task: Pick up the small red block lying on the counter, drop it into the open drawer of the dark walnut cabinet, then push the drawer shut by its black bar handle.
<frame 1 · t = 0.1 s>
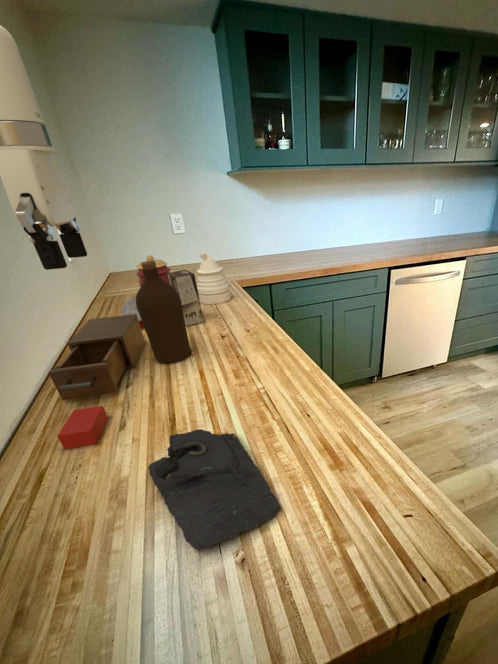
hand: (68, 262, 57), 30 cm above the table, tool pointing down, fingers open, 9 cm apart
coffee box: (191, 320, 116), on the table
cabinet: (116, 357, 94), on the table
kitchen canister: (161, 300, 139), on the table
honey pot: (215, 299, 136), on the table
olive oil: (174, 356, 93), on the table
drawer: (92, 370, 78), point 5 cm above the table, slide at 12.0 cm
folded black cloth: (212, 487, 52), on the table
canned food: (141, 325, 115), on the table
red block: (87, 432, 65), on the table
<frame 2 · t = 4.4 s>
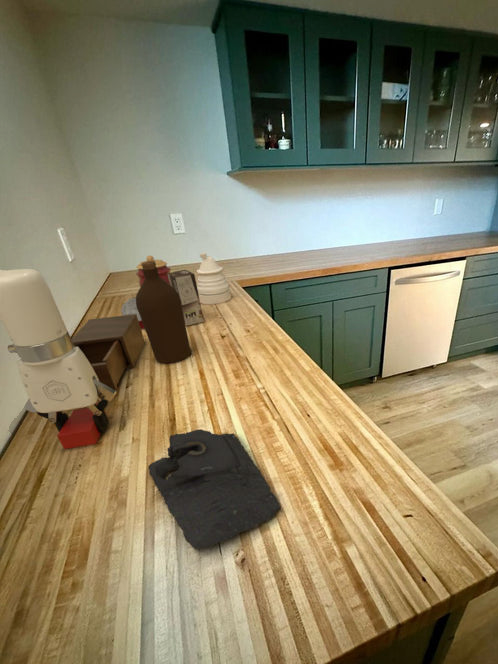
hand: (86, 430, 65), 1 cm above the table, tool pointing down, fingers closed on red block, 5 cm apart
red block: (87, 432, 65), on the table, touching gripper
everything else where it was.
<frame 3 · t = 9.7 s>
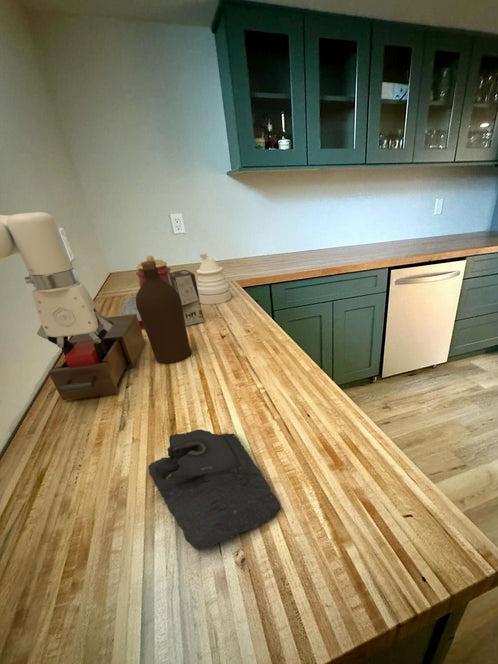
hand: (88, 358, 77), 7 cm above the table, tool pointing down, fingers closed on red block, 5 cm apart
red block: (89, 360, 77), point 7 cm above the table, touching gripper
everything else where it was.
when the fingers open (8 cm above the table, at t = 14.5 s): red block drops 5 cm, resting on drawer.
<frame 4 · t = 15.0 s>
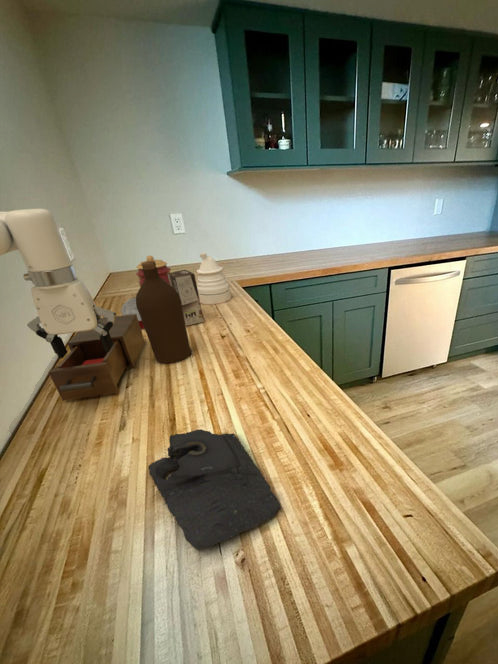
hand: (86, 352, 76), 9 cm above the table, tool pointing down, fingers open, 9 cm apart
drawer: (92, 370, 78), point 5 cm above the table, slide at 12.0 cm, touching red block
red block: (97, 378, 80), point 2 cm above the table, touching drawer
everything else where it was.
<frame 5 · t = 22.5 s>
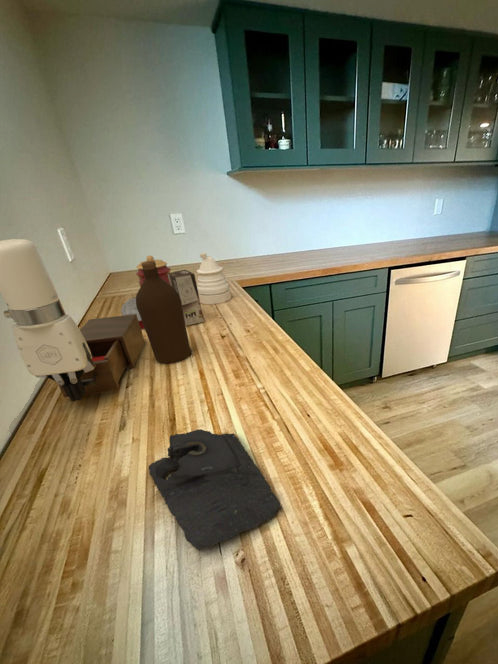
hand: (78, 397, 70), 4 cm above the table, tool pointing down, fingers closed
drawer: (93, 367, 79), point 5 cm above the table, slide at 10.8 cm, touching red block, gripper
red block: (98, 375, 81), point 2 cm above the table, touching drawer
everything else where it was.
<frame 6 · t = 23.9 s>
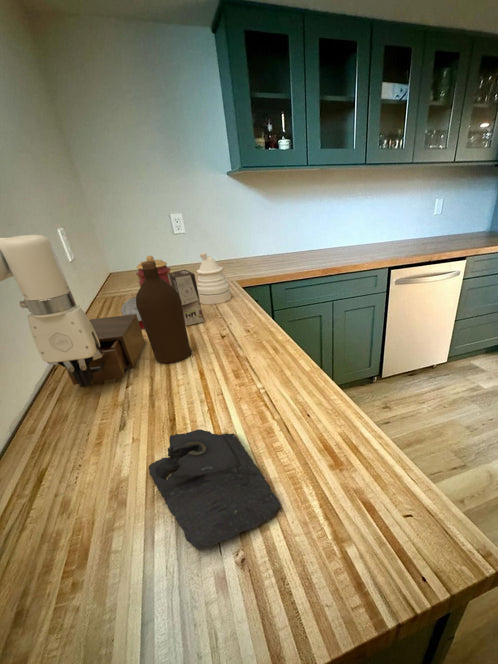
hand: (87, 383, 75), 4 cm above the table, tool pointing down, fingers closed
drawer: (100, 357, 84), point 5 cm above the table, slide at 5.2 cm, touching red block, gripper
red block: (105, 364, 86), point 2 cm above the table, touching drawer
everything else where it was.
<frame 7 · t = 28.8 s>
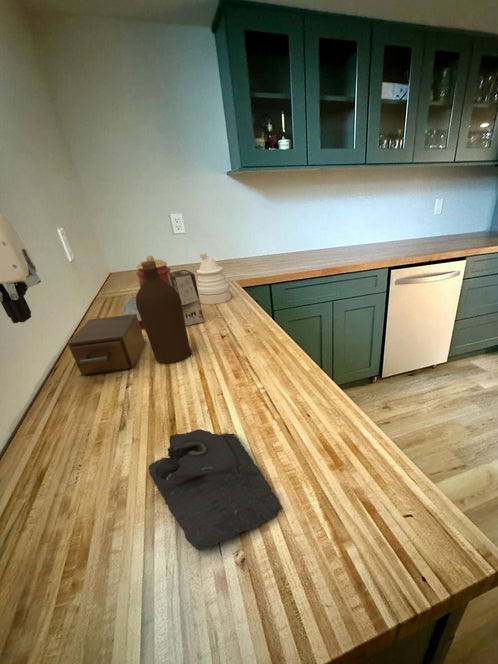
hand: (22, 319, 60), 21 cm above the table, tool pointing down, fingers closed
drawer: (106, 348, 88), point 5 cm above the table, slide at 0.0 cm, touching red block
red block: (110, 355, 90), point 2 cm above the table, touching drawer
everything else where it was.
at the end: red block inside the target area in the cabinet (3.0 cm from its centre), point 2.0 cm above the cabinet's base; drawer slide at 0.0 cm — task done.
